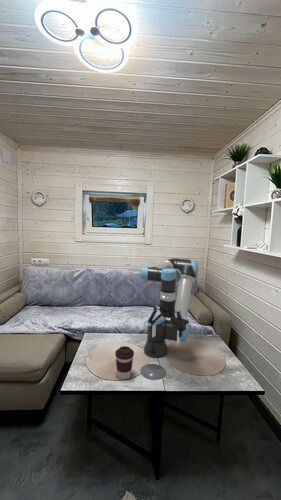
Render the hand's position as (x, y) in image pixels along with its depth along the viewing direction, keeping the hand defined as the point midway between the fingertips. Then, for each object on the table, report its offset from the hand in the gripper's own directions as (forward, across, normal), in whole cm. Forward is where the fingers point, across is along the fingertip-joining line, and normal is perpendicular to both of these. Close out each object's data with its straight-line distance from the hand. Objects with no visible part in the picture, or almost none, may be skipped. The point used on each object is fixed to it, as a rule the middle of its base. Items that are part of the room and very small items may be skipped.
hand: (165, 339), depth 129 cm
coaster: (+23, -8, +4) cm, 25 cm away
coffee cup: (+23, -20, -7) cm, 32 cm away
